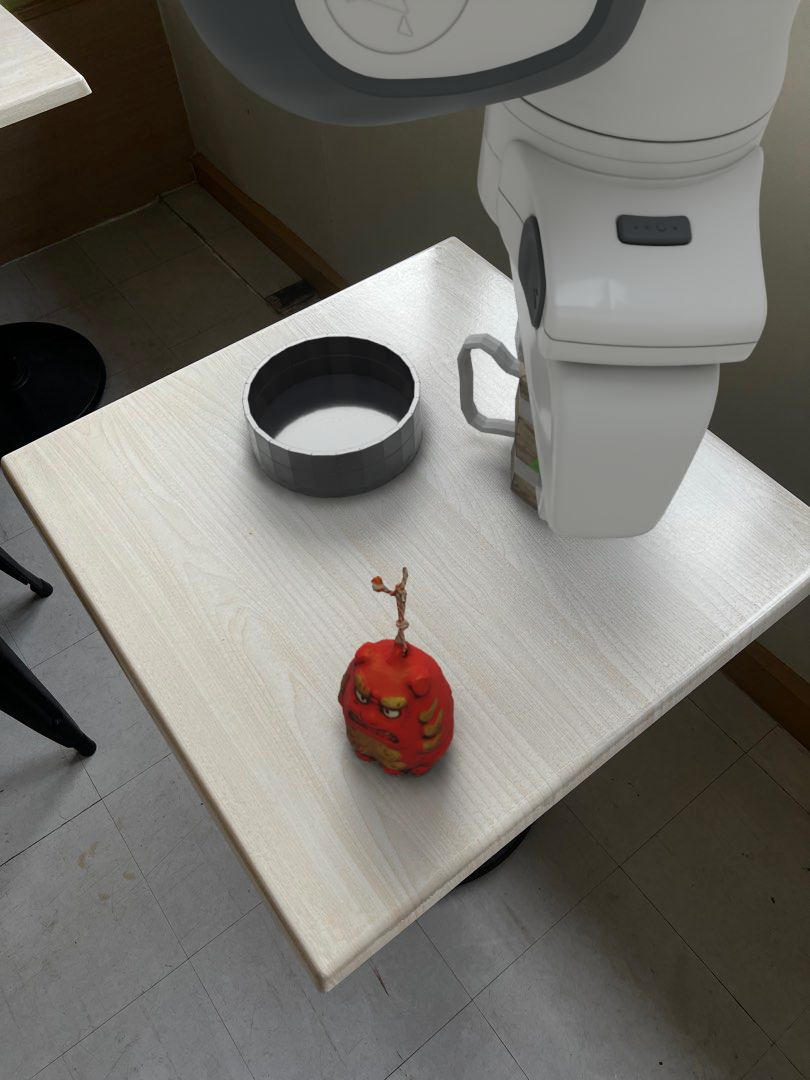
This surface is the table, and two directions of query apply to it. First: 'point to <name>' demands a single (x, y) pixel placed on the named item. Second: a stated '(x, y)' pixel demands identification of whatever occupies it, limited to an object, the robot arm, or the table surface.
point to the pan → (334, 414)
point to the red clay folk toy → (397, 700)
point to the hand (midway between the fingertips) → (543, 425)
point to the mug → (520, 429)
